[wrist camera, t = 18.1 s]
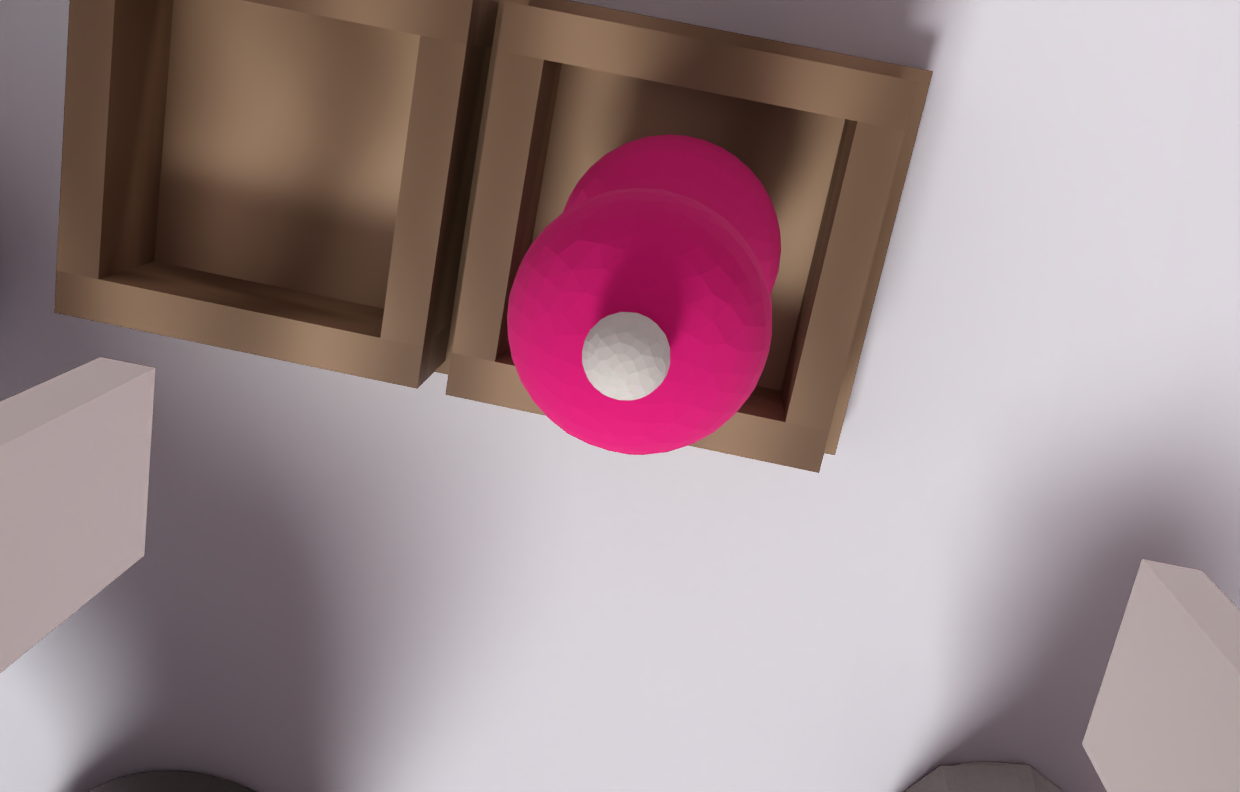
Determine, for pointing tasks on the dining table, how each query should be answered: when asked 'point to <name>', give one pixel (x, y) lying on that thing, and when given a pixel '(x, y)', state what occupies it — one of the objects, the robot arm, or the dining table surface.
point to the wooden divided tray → (452, 180)
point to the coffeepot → (984, 779)
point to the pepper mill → (649, 297)
